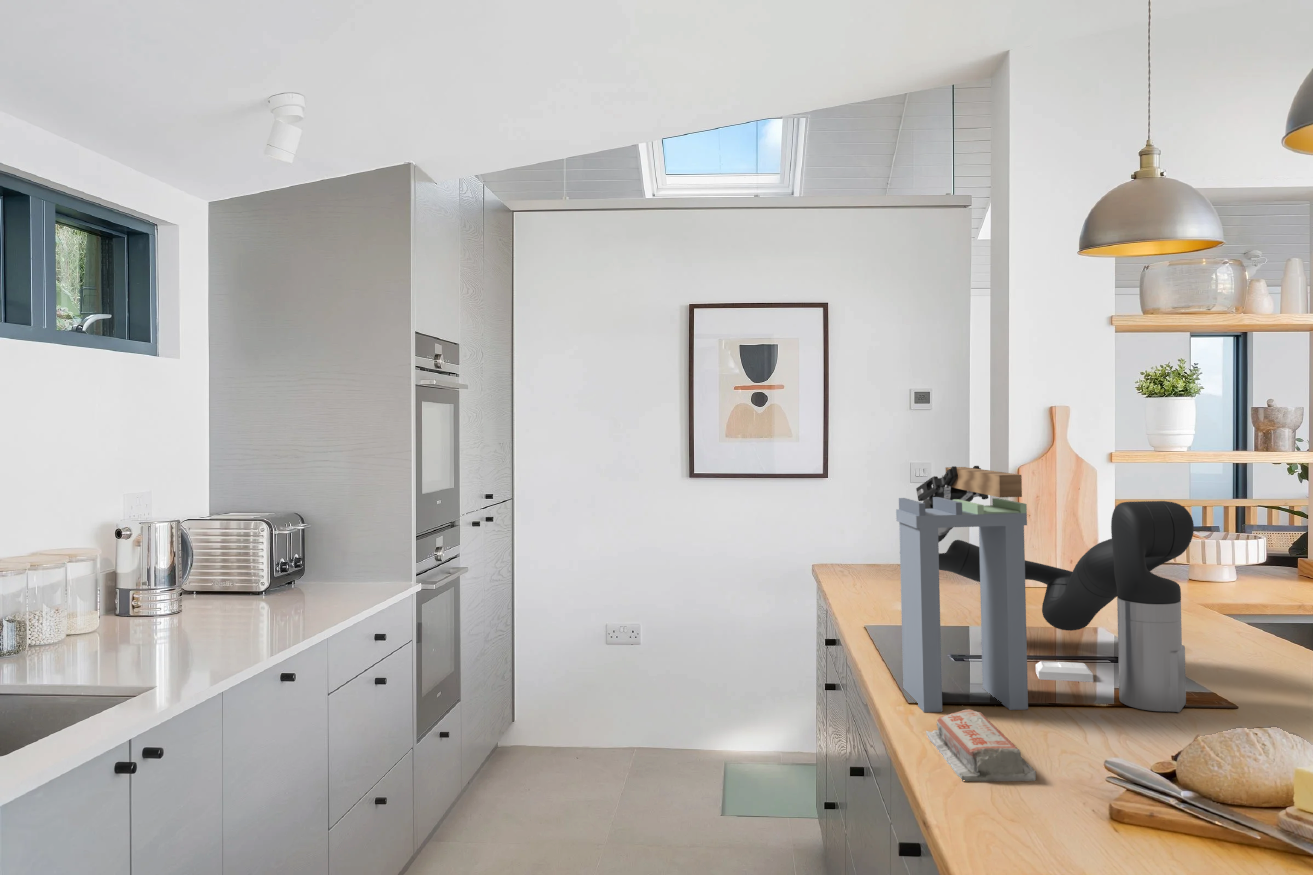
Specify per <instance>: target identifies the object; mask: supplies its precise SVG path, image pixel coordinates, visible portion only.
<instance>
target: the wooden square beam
mask: <svg viewBox="0 0 1313 875" xmlns="http://www.w3.org/2000/svg"><path fill="white" fill-rule="evenodd" d="M951 467H952V466H951ZM951 467H947V466H946V467H945V473H946V472H947V470H949V469H951ZM956 467H957V473H958V477H957V479H956V481H955V482H954V484H953V485H951V487H952V488H957V489H962V490H967V491H971V492H976V493H981V494H986V495H988V496H991V497H995V498H1022V497H1023V495H1022V494H1023V488H1022V486H1023V484H1022V479H1023V478H1022V474H1019V473H1018V474H1017V473H1012V472H1005V471H1004V472H1003V471H996V470H989V469H982V468H981V469H975V468H973V467H967V466H956Z"/></svg>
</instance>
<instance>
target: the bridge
mask: <svg viewBox="0 0 1313 875" xmlns="http://www.w3.org/2000/svg"><path fill="white" fill-rule="evenodd" d="M1027 506H1028V505H1027V503H1024V502H1019V501H1015V500H1008V499H1003V498H1000V497H995V498H994V497H992V505H990V504H989V505H984V504H981V503H977V502H972V501H970V502H968V501H964V500H959V499H953V500H949V499H945V498H940V497H933V509H925V503H923V501H918V500H914V499H910V498H906V497H899V498H898V509H896V510H895V515H896V516H895V517H896V518H895V519H896V522H898V524H899V526H898V527H899V560H900V561H899V562H900V565H899V570H900V608H901V609H900V610H901V611H900V612H901V613H900V614H901V643H902V644H901V649H902V651H901V652H902V655H901V656H902V687H903V688H904V689H905V690H906V691H907V692H908V693H909V694H910V695H911V696H912V697H913V698H914V699H915V700H916V701H917V703H918V706H917V707H918V708H919V709H921V711H922V712H923V713H942V712H943V685H942V683H943V679H942V643H941V642H942V641H941V640H942V639H941V635H942V634H941V633H942V632H941V602H940V601H941V600H940V597H941V596H940V595H941V594H940V592H941V591H940V570H939V553H940V552H939V543H938V528H946V527H953V528H974V527H975V528H976V527H977V528H978V542H979V544H978V545H979V546H978V547H979V553H980V582H979V587H980V592H979V593H980V594H979V595H980V628H981V629H980V630H981V632H980V635H981V639H980V640H981V673H982V674H981V676H982V677H981V678H982V689H983V688H984V689H985V690H986V691H987V692H988V693H987V692H986V691H985V690H984V689H983V690H984V691H985V692H986V693H987V694H989V693H990V694H991V695H992V698H994V697H995V698H996V699H997V700H996V699H995V698H994V699H995V700H996V701H998V700H999V701H1001V702H1002V703H1001V704H1002V705H1003V706H1004V707H1005V708H1006V709H1008V710H1009V711H1017V710H1020V711H1021V710H1022V711H1023V710H1029V694H1028V692H1029V691H1028V690H1029V689H1028V687H1029V686H1028V647H1027V642H1028V640H1027V603H1026V600H1027V597H1026V580H1025V560H1026V559H1025V558H1026V557H1025V550H1026V549H1025V526H1028V518H1027V517H1028V513H1027V511H1028V508H1027ZM903 688H902V689H903ZM990 694H989V695H990ZM991 695H990V696H991ZM999 701H998V702H999Z"/></svg>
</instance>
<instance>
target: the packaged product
mask: <svg viewBox="0 0 1313 875" xmlns="http://www.w3.org/2000/svg"><path fill="white" fill-rule="evenodd" d="M936 726H937V729H933V731H928V730H925V733H926V737H927V736H928V737H927V738H928V740H929V741H930V742H931V743H932V744H933V746H934V747H935V746H936V747H935V748H936V750H937V751H938V750H939V751H938V752H939V754H940V753H941V754H942V755H943V756H942V755H941V754H940V755H941V756H942V758H943V757H944V758H943V760H944V759H945V760H946V761H947V762H946V761H945V760H944V761H945V762H946V764H948V766H950V765H951V766H950V768H951V769H952V770H953V772H954V773H955V774H956V776H957V777H958V776H959V777H960V778H961V779H962V780H961V779H960V778H959V777H958V778H959V779H960V780H961V782H963V780H965V781H981V782H1035V781H1036V780H1037V776H1036V775H1037V774H1036V773H1037V770H1034V768H1033V766H1031V765H1030V764H1029V763H1028V762H1027V761H1026V760H1025V759H1024V758H1023V757H1022V755H1021V750H1020V749H1019V748H1018V747H1017V746H1016V745H1015V744H1014V743H1013V742H1012V741H1011V740H1010V739H1009V738H1008V737H1007V736H1006V735H1004V733H1003V732H1002V731H1001V730H1000V729H999V728H998V727H997V726H995V725H994V724H993V723H992V722H991V721H990V720H989V719H988V717H986V716H985V715H984V714H983V713H982V712H980V711H976V710H973V709H963V710H960V711H955V712H952V713H949V714H944V715H942V716H939V717H938V719H937V722H936Z"/></svg>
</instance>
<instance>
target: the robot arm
mask: <svg viewBox="0 0 1313 875" xmlns="http://www.w3.org/2000/svg"><path fill="white" fill-rule="evenodd" d="M957 467H958V466H955V465H954V466H951V469H949V470H947V472H946V471H945V474H943V475H941V477H938V476H935V475H934V476H932V477H930V478H929V479H928V480H926V481H924V482H923V483H922V484H920V485H919V486H918V487H916V488H915V490H916V495H917V501H918V502H922V503H925V509H933V497H940V498H945V499H949V500H953V499H959V500H964V501H968V502H972V501H973V500H974V498H981V499H982V500H988V499H989V495H986V494H981V493H976V492H971V491H967V490H962V489H957V488H952V487H951V485H953V484H954V482H955V481H956V479H957V477H958V473H957ZM972 468H975V469H982V468H981V467H980V466H979V465H973V467H972ZM1110 524H1111V525H1110V532H1111V538H1109V539H1106V540H1103V541H1101V542H1099V543H1097V544H1095V545H1093V546H1092V547H1091V548H1089V549H1088V550H1087V551H1086V552H1085V553H1084V554H1083V555H1082V556H1081V557H1080V558H1079V560H1078V561H1077V563H1076V564H1075V565H1074V568H1073V570H1072V571H1071V570H1067V569H1064V568H1061V567H1057V566H1051V565H1047V564H1042V563H1038V562H1034V561H1030V560H1026V559H1025V581H1026V580H1027V581H1028V580H1029V581H1035V582H1039V583H1043V585H1046V589H1045V593H1044V597H1043V602H1042V606H1041V612H1042V617H1043V619H1044V620H1045V622H1046V623H1048V624H1049V625H1050V626H1052V627H1054V628H1055V629H1058V630H1061V631H1070V632H1071V631H1078V630H1081V629H1084V628H1086V627H1087V626H1088V625H1089V624H1090V623H1091V622H1092V621H1093V619H1094V617H1095V616H1096V615H1097V614H1098V613H1099V612H1100V611H1101V610H1103V608H1105V607H1106V606H1107V605H1108V604H1110V603H1111V602H1112V601H1113V600H1114V599H1115V598H1116V600H1117V601H1116V602H1117V605H1116V606H1117V608H1116V610H1117V611H1116V612H1117V645H1118V646H1117V647H1118V648H1117V652H1118V653H1117V654H1118V655H1117V656H1118V659H1117V660H1118V693H1119V695H1118V696H1119V702H1120V703H1122V704H1124V705H1126V706H1128V707H1131V708H1135V709H1139V710H1143V711H1144V710H1145V711H1151V712H1152V711H1153V712H1173V713H1181V711H1182V710H1183V708H1184V706H1185V705H1186V704H1187V690H1186V689H1187V687H1186V686H1187V684H1186V683H1187V681H1186V676H1187V674H1186V648H1185V645H1183V642H1182V641H1183V636H1182V629H1183V628H1182V592H1181V586H1180V585H1179V584H1180V583H1178V582H1176V581H1175V580H1172V579H1169V578H1166V577H1162V576H1159V575H1156V574H1155V573H1153V572H1152V571H1153V570H1154V569H1156V568H1158V567H1159V566H1161V565H1164V564H1165V563H1167V562H1170V561H1171V560H1174V559H1176V558H1178V557H1180V556H1181V555H1182V554H1184V553H1186V552H1185V551H1186V550H1187V549H1188V548H1189V547H1190V544H1191V542H1192V540H1193V536H1194V533H1195V532H1194V531H1195V525H1194V520H1193V517H1192V515H1191V514H1190V512H1189V510H1188V509H1186V508H1185V506H1183V505H1182V504H1179V503H1178V502H1173V501H1165V500H1152V501H1150V500H1148V501H1147V500H1145V501H1138V500H1137V501H1124V502H1120V503H1118V504H1117V505H1116V506H1115V507H1114V509H1113V512H1112V516H1111V523H1110ZM953 528H954V527H946V528H938V544H940V542H942V541H943V540H944V539H945V538H947V536H948V534H949V532H950V531H951V530H952V529H953ZM939 571H945V572H948V573H949V572H950V573H953V574H957V575H959V576H962V577H963V578H966V579H969V580H972V581H975V582H977V583H980V553H979V546H978V545H975V544H973V543H969V542H967V541H964V540H962V539H961V540H960V539H955V540H953V541H952V542H951V543H950V545H949V546H948V548H947V549H946V551H945V552H942V553H940V552H939Z"/></svg>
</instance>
